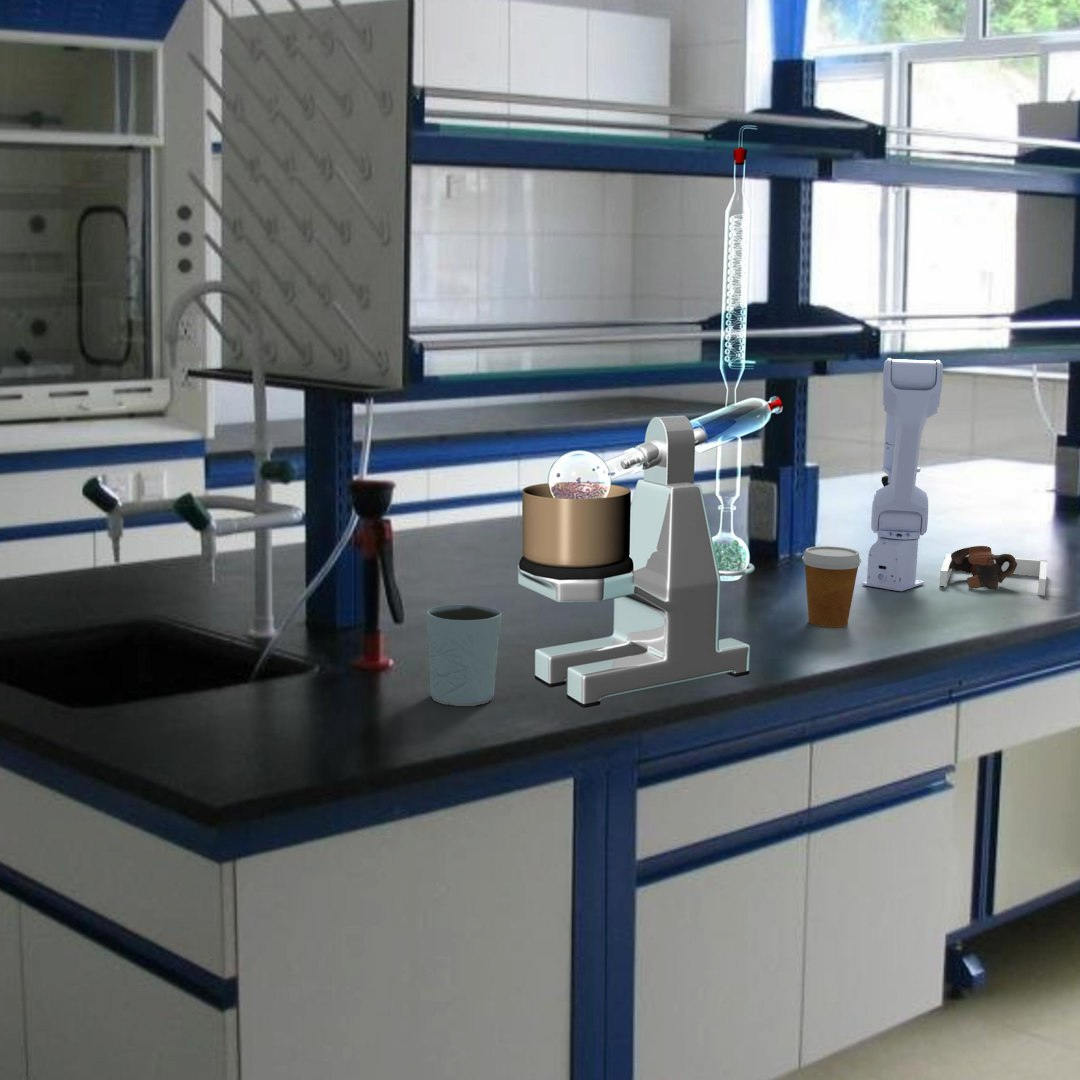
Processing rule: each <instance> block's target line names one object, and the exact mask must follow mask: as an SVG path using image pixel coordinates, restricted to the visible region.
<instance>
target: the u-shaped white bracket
mask: <svg viewBox="0 0 1080 1080" xmlns="http://www.w3.org/2000/svg"><path fill="white" fill-rule="evenodd" d="M952 553H953V552H946V555H945V558H944V560H943V562H942V565H941V569H940V574H939V575H940V576H939V586H946V587H947V586H948V583H949V581H950V577H951V575H952V572H953V570H952V568H951V569H949V565H950V563H951V561H952V558H951V554H952ZM966 557H969V555H967V556H966ZM1014 558H1015V561H1016V562H1017V567H1016V569H1015V571H1014V573H1013V574H1019V575H1018V576H1025V575H1028V576H1027V577H1038V588H1037V589H1038V590H1037V596H1046V586H1047V585H1046V584H1047V571H1048V570H1047V569H1048V560H1047V559H1034V558H1024V557H1023V558H1022V557H1014ZM993 561H994V563H996V561H995V560H993ZM1008 567H1009V562H1005V563H1004V564H1003V566H1002V568H1001V569H1002V571H1005V570H1006V569H1007V568H1008ZM949 576H950V577H949Z"/></svg>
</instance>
